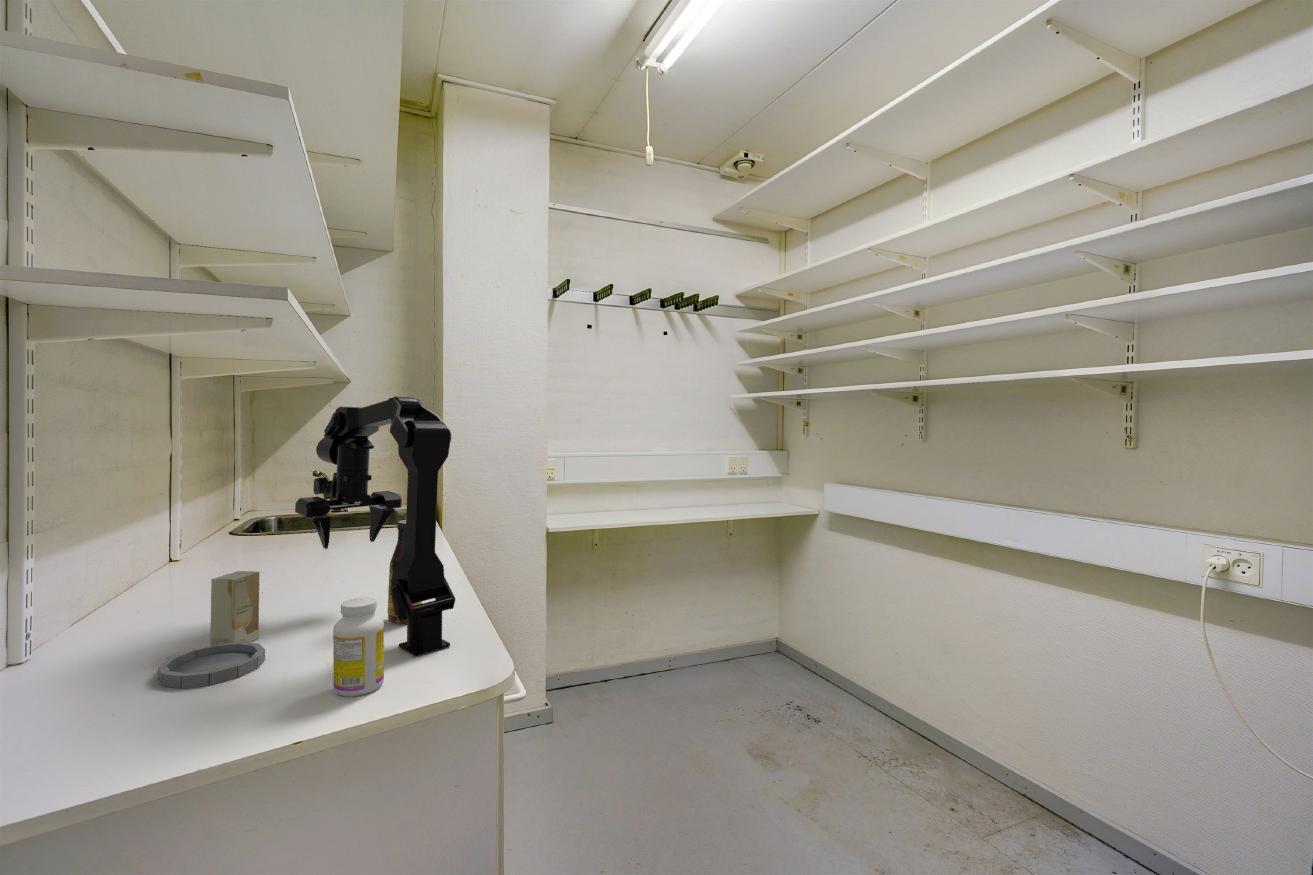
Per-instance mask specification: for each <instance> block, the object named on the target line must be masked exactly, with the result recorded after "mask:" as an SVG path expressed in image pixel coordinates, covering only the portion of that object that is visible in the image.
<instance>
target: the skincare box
mask: <svg viewBox="0 0 1313 875" xmlns="http://www.w3.org/2000/svg"><path fill="white" fill-rule="evenodd" d="M210 584H211V585H210V586H211V587H210V588H211V589H210V590H211V591H210V636H209V637H210V640H209V642H210V644H209V646H210V645H215V644H222V643H233V642H249V643H252V642H253V641H256V640H257V639H259V637H260V636H259V631H260V630H259V629H260V628H259V627H260V626H259V625H260V622H259V620H260V615H259V614H260V571H254V570H246V571H245V570H237V571H234V572H231V573H226V574H223V575H221V576H218V577H214V578H211V582H210Z"/></svg>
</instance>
